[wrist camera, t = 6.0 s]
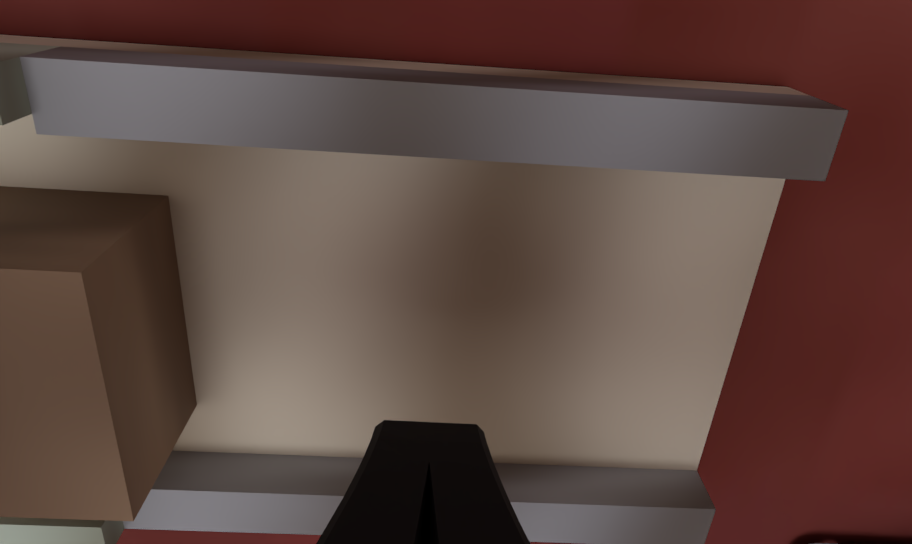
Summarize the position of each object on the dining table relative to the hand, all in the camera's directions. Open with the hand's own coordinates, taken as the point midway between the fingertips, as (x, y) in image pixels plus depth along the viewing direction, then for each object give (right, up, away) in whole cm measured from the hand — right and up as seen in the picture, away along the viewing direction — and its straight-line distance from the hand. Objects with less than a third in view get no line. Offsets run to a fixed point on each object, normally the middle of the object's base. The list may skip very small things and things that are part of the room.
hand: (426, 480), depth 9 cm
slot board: (-5, +2, +4) cm, 7 cm away
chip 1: (-7, +2, +3) cm, 8 cm away
